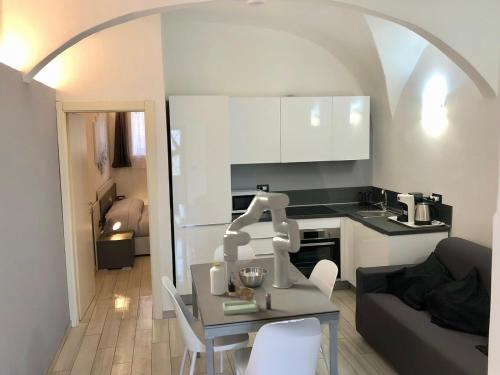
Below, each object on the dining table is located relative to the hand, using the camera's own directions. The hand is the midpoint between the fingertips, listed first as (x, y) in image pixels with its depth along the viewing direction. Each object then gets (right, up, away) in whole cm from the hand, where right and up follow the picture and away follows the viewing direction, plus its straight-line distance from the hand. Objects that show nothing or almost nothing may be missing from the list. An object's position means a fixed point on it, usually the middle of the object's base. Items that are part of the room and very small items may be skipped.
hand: (231, 290), depth 239 cm
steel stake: (+20, -10, +1) cm, 22 cm away
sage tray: (+5, -10, +2) cm, 11 cm away
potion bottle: (-9, -8, +28) cm, 30 cm away
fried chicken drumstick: (+4, -4, +1) cm, 6 cm away
